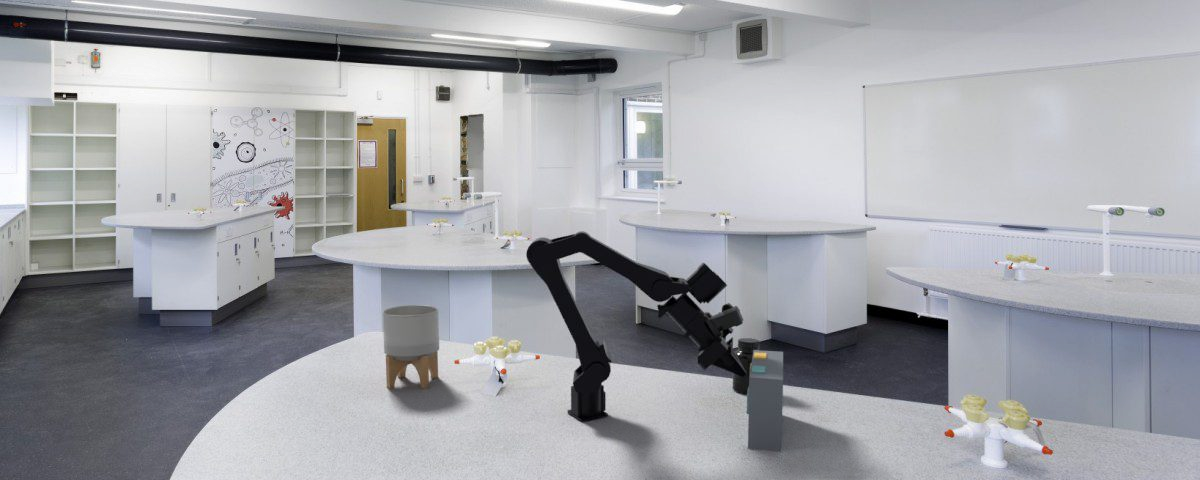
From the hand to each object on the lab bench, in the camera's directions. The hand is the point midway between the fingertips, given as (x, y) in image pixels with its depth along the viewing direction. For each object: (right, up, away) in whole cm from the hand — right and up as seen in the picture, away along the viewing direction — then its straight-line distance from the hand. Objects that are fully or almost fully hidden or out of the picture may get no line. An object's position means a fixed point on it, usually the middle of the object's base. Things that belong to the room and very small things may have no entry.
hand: (744, 375), depth 145 cm
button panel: (+3, -10, -5) cm, 11 cm away
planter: (-75, -7, +28) cm, 80 cm away
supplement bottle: (+5, -8, +20) cm, 22 cm away
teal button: (0, -5, -10) cm, 11 cm away
